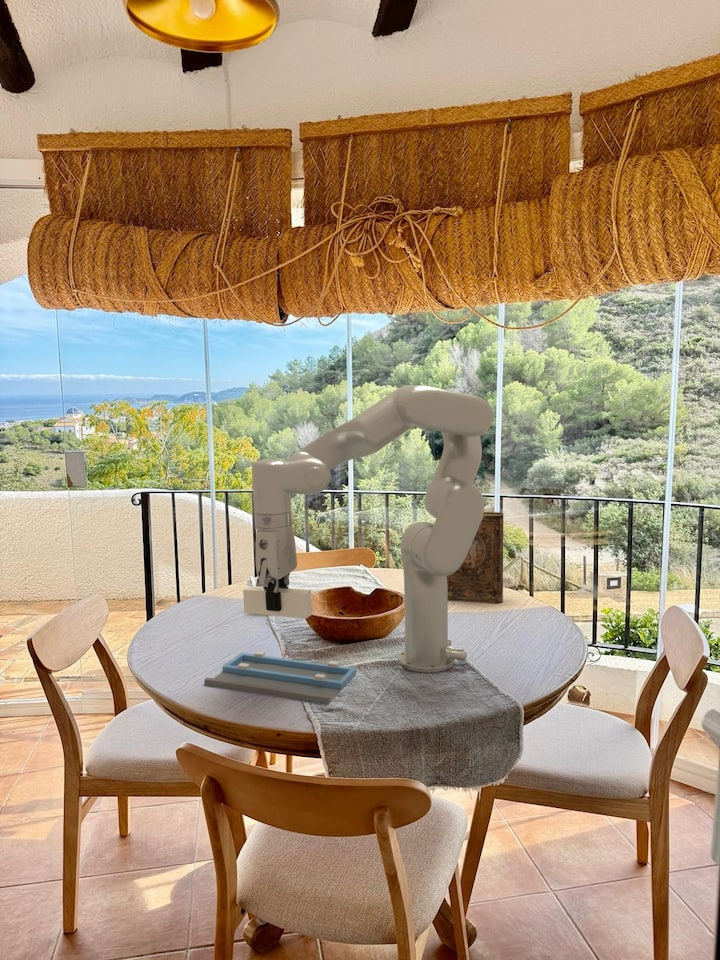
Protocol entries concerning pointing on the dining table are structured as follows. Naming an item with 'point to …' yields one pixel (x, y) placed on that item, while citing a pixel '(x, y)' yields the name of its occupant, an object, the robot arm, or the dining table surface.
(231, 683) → the board
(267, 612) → the bar
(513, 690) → the dining table surface
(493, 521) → the book
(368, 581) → the dining table surface
